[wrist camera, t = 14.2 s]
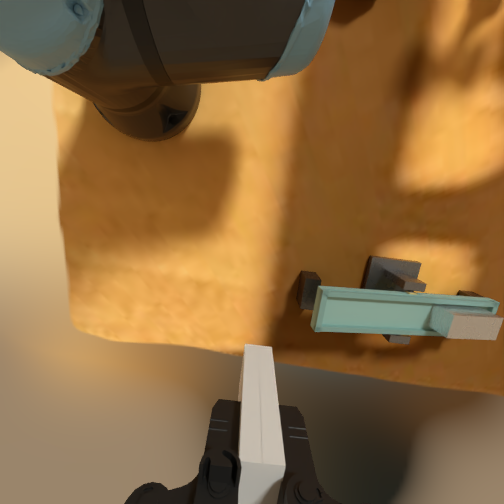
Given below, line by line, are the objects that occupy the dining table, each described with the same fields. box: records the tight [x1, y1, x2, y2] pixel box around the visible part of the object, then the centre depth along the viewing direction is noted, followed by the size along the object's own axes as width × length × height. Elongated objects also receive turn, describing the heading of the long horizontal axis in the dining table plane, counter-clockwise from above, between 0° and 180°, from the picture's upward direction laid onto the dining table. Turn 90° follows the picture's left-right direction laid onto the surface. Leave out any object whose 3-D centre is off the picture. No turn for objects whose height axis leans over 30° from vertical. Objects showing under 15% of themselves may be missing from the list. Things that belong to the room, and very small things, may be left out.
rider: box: [427, 304, 504, 340], centre depth 38 cm, size 3×8×4 cm, turn 83°
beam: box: [310, 286, 500, 336], centre depth 39 cm, size 7×28×2 cm, turn 83°
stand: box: [296, 256, 485, 344], centre depth 42 cm, size 13×29×7 cm, turn 83°
